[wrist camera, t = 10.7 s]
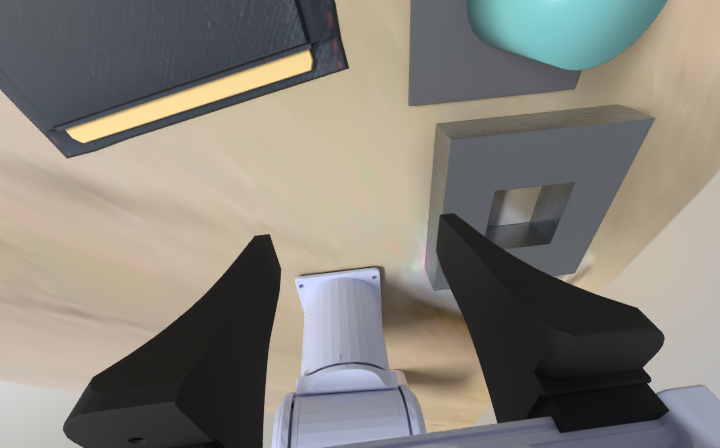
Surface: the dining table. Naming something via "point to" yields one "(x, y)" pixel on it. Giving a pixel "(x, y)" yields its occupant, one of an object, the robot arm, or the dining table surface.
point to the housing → (534, 179)
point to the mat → (469, 60)
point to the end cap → (563, 28)
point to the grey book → (155, 61)
